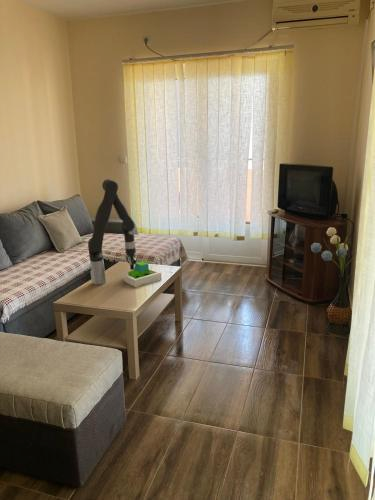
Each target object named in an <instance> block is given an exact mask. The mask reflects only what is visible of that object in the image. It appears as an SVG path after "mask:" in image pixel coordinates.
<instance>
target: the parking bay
mask: <svg viewBox="0 0 375 500" xmlns="http://www.w3.org/2000/svg"><path fill="white" fill-rule="evenodd" d="M123 278H124V282H125V283H127V284H128V285H130V286H133V287H135V288H137V287H141V286H144V285H147V284H150V283H153V282H157V281H159V280H162V272H160V271H158V270H156V269H153V268H149V275H147V276H144V277H140V278H137V279H135V278H133V277H131V276H129V275H128V274H124V275H123ZM143 284H144V285H143ZM140 285H141V286H140Z"/></svg>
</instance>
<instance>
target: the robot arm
mask: <svg viewBox="0 0 375 500" xmlns="http://www.w3.org/2000/svg"><path fill="white" fill-rule="evenodd" d="M101 187H102V189H103V191H104V195H103V198H102V201H101V203H100V204H99V206H98V208H97V210H96V215H95V218H94V224H93V225H94V226H93V233H92V236H91V238H89V240H88V242H87V248H88V249H87V250H88V254H89V255H88V256H89V262H90V279H91V280H90V281H91V284H93V285H94V286H98V285H103V284H105V283H106V282H107V279H106V271H105V263H104V256H103V255H104V253H103V250H102V249H103V248H102V247H103V242H104V237H105V236H104V235H105V232H106V229H107V227H108V223H109V220H110V216H111V211H112V209H113V208H114V209H115V212H116V214H117V216H118V218H119V219H120V221H122V222H121V230H122V234H123V236H124V249H125V250H124V251H125V254H126V256H125V259H126V261H127V264H129V267H130V270H131V271H132V270H134V268H135V264H136V263H137V260H138V258H136V255H135V254H136V241H135V236H134V233H133V230H134V229H135V222H134V220H133V219H132V217H131V216H130V215H129V213H128V210H127V208H126V206H125V204H124V202H123V201H122V200H121V198H120V197H119V195H118V189H119V185H118V182H116V181H115V180H114V179H111V178H110V179H109V178H107V179H105V180H104V181H103V182H102V185H101Z"/></svg>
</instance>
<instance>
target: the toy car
mask: <svg viewBox="0 0 375 500" xmlns="http://www.w3.org/2000/svg"><path fill="white" fill-rule="evenodd" d="M127 275H129V276H131V277H133V278H135V279H137V278H140V277H144V276H147V275H149V263H148V262H145V261H139V262H136V264H134V269H133V270H131V271H130V270H129V271H128V273H127Z"/></svg>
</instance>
